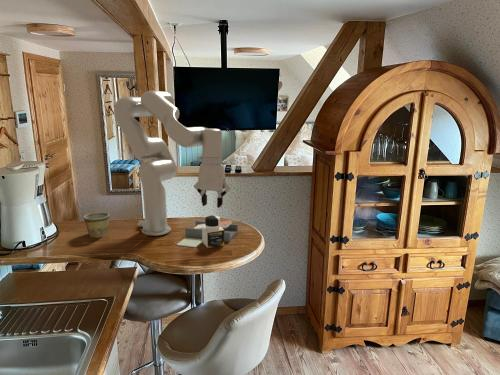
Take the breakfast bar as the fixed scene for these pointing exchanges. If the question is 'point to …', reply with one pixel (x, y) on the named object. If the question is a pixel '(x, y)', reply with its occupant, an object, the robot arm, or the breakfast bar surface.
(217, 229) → the medicine bottle
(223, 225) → the rocker
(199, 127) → the robot arm
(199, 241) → the sage mat
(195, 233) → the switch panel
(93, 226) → the ceramic cup
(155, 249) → the breakfast bar surface
